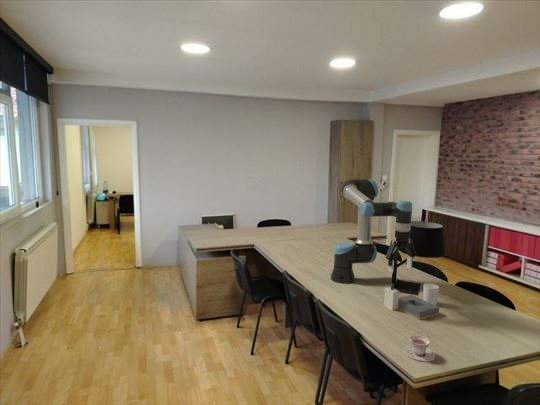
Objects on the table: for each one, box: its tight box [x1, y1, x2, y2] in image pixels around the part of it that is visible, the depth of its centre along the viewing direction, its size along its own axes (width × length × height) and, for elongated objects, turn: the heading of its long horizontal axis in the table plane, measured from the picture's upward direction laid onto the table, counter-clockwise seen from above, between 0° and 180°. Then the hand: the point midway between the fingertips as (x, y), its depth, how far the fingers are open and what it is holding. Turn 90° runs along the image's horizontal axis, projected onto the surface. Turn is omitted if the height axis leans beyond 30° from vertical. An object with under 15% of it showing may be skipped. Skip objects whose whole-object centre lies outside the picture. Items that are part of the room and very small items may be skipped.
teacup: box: [403, 334, 436, 363], centre depth 151 cm, size 12×12×6 cm
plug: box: [383, 283, 400, 311], centre depth 196 cm, size 6×4×13 cm, turn 27°
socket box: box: [397, 294, 440, 321], centre depth 194 cm, size 18×14×4 cm
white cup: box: [422, 283, 440, 306], centre depth 203 cm, size 8×8×10 cm
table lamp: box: [391, 220, 446, 296], centre depth 222 cm, size 26×28×40 cm
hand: (400, 270), depth 195 cm, fingers open, 13 cm apart
